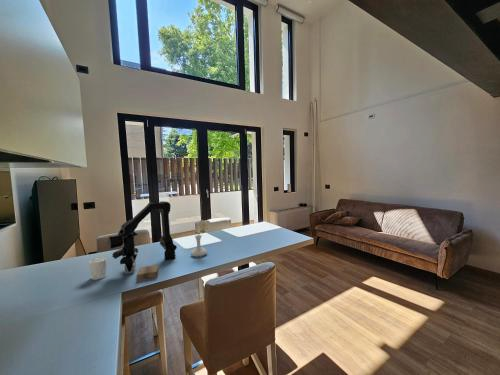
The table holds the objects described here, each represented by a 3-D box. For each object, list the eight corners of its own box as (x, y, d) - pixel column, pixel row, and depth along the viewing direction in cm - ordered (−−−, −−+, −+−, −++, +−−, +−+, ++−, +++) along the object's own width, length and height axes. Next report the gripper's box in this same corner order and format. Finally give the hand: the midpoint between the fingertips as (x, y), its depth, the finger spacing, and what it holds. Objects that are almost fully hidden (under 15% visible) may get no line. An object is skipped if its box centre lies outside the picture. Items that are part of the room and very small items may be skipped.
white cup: (92, 275, 122) (91, 258, 121) (108, 272, 125) (107, 256, 124) (88, 281, 115) (87, 263, 114) (105, 278, 118) (104, 261, 117)
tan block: (158, 270, 126) (158, 264, 126) (157, 278, 117) (156, 271, 117) (140, 274, 123) (139, 267, 123) (137, 281, 114) (136, 274, 113)
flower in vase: (195, 259, 141) (193, 223, 140) (188, 255, 150) (186, 220, 148) (212, 254, 150) (210, 219, 148) (204, 250, 158) (202, 217, 157)
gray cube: (136, 269, 129) (135, 261, 129) (134, 272, 124) (134, 264, 124) (127, 270, 127) (126, 262, 127) (125, 274, 123) (124, 265, 122)
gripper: (117, 241, 131) (119, 265, 132) (108, 251, 114) (110, 279, 114) (137, 239, 135) (139, 262, 136) (131, 248, 117) (133, 275, 118)
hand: (130, 269), depth 126 cm, fingers open, 5 cm apart
